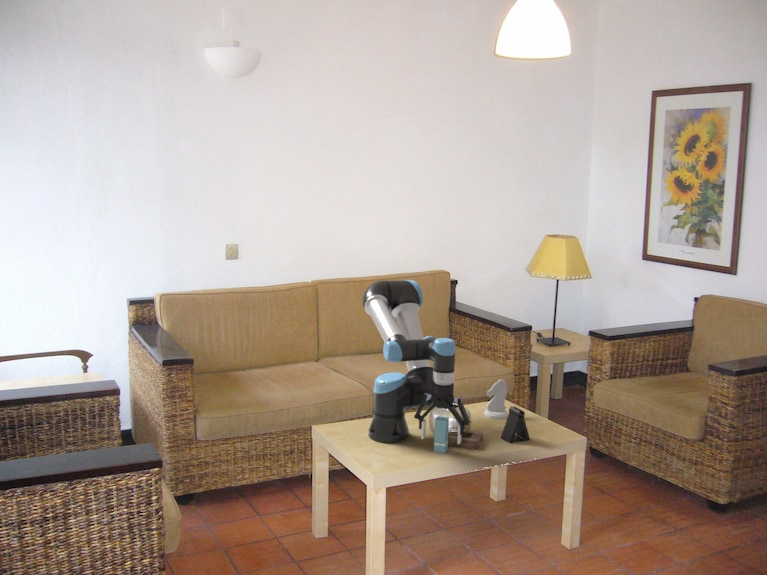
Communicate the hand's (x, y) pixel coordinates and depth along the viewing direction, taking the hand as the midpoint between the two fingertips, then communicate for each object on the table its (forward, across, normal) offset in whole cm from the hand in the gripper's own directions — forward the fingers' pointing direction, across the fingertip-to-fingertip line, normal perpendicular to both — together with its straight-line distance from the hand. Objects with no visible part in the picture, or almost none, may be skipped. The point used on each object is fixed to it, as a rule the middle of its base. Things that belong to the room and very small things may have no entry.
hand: (441, 440), depth 280 cm
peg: (+4, 0, 0) cm, 4 cm away
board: (+4, +6, +11) cm, 13 cm away
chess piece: (+4, +11, +47) cm, 48 cm away
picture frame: (+4, +23, +22) cm, 32 cm away
